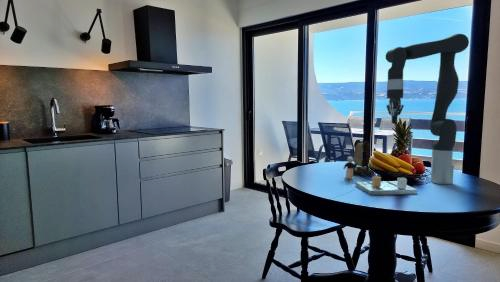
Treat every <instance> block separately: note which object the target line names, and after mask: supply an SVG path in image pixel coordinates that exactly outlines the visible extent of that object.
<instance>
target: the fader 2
mask: <svg viewBox="0 0 500 282" xmlns="http://www.w3.org/2000/svg"><path fill="white" fill-rule="evenodd" d="M396 181H397V187H398V188H400V189H406V186H407V185H408V184H407V183H408V179H407V178H406V177H397V180H396Z"/></svg>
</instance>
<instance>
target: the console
mask: <svg viewBox="0 0 500 282" xmlns="http://www.w3.org/2000/svg"><path fill="white" fill-rule="evenodd" d="M355 187H356V188H357V189H359V190H361V191H363V192H364V193H366V194H368V195H370V196H374V195H375V196H378V195H379V196H380V195H382V196H383V195H385V196H386V195H417V194H418V189H416V188H415V187H412V186H410V185H408V184H407V186H406V189H400V188H398V187H397V180H392V181H391V180H389V181H388V180H387V181H386V180H385V181H384V180H383V181H382V180H381V187H374V186H372V181H355Z"/></svg>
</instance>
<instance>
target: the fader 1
mask: <svg viewBox="0 0 500 282" xmlns="http://www.w3.org/2000/svg"><path fill="white" fill-rule="evenodd" d="M381 181H382V177H381V176H379V175H375V176H374V175H373V176H372V177H371V182H372V186H374V187H381Z"/></svg>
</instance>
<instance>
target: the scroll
mask: <svg viewBox="0 0 500 282" xmlns="http://www.w3.org/2000/svg"><path fill="white" fill-rule="evenodd" d="M353 144H354V145H353V146H354V152H353V153H354V157H353V159H354V161H353V162H354V163H353V164H355V165H356V166H357V170H355V168H353V174H356V175H359V176H360V177H362V176H363V175H373V174H374V175H375V173H374V172H373V171H372V170H370V169H369V168H370V166H369V167H368V163H369V159H370V158H369V157H370V156H371V153H370V149H371V143H370V141H368V140H364V141H363V142H362V140H360V139H357V140H356V141H355V142H354V143H353ZM363 155H364V156H365V157H363ZM369 164H370V163H369Z"/></svg>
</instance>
